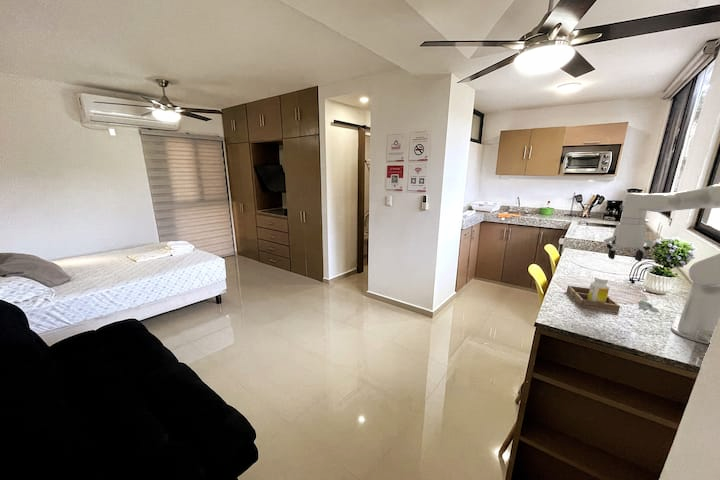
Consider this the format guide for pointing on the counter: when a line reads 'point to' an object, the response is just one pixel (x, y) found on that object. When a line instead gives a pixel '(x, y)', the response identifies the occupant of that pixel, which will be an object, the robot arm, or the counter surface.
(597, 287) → the supplement bottle
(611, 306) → the wooden divided tray
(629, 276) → the counter surface
